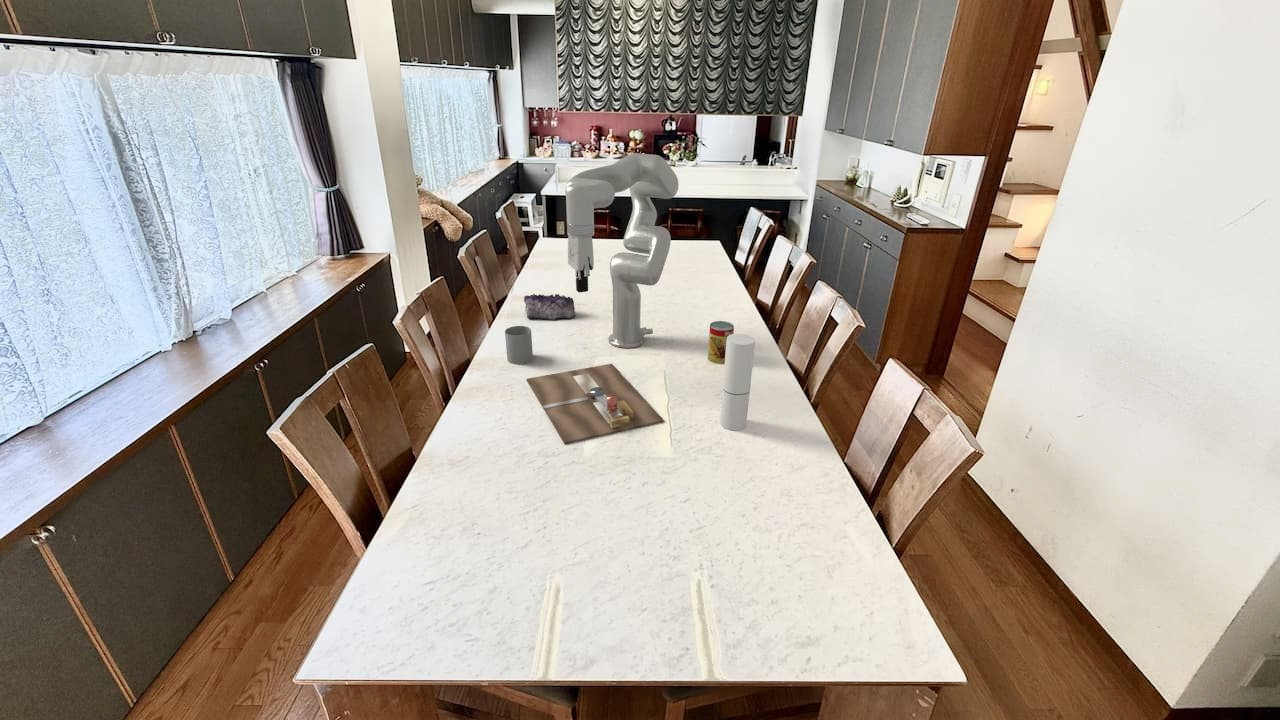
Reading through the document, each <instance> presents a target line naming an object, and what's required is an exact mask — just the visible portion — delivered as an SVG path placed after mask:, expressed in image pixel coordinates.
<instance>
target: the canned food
mask: <svg viewBox="0 0 1280 720" xmlns="http://www.w3.org/2000/svg"><path fill="white" fill-rule="evenodd" d="M708 331H709V334H708V344H707V345H708V346H707V360H708V361H709V362H710V363H713V364H717V365H718V364H719V365H722V364H723V365H725V354H726V342H727V337H728V336H729V335H731V334H735V333H734V332H735V325H734V324H733V323H732V322H728V321H724V320H716V321H713V322H711V323H710V324H709V330H708Z"/></svg>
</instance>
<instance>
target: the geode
mask: <svg viewBox="0 0 1280 720" xmlns="http://www.w3.org/2000/svg"><path fill="white" fill-rule="evenodd" d="M523 302H524V304H525V307H524V308H525V311H524V312H525V313H526V318H527V319H542V320H548V321H555V320H559V319H567V320H571V319H575V318H576V312H575V311H576V308H575V301H574V298H573V297H571V296H565V295H560V294H559V293H558V294H557V293H555V294H553V293H552V294H550V295H545V294H535V293H532V294H530V295H524V296H523Z"/></svg>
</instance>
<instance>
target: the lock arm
mask: <svg viewBox="0 0 1280 720" xmlns="http://www.w3.org/2000/svg"><path fill="white" fill-rule="evenodd" d="M590 395H591V398H593V399H595V400H596V401H597V402H598V403H599V405H600V406H601V407H602V408H603V410H604V411H605V412H606V413H607V414H608V416H609V417H610V418H611V419H615V418H619V417H623V415H622V414H621V412H620V411H619V410H618V409H617V396H616V395H614V394H610V395H608V396H606V395H605V394H604V389H603V388H600V387H595V388H592V389H591V390H590Z"/></svg>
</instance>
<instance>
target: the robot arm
mask: <svg viewBox="0 0 1280 720" xmlns="http://www.w3.org/2000/svg"><path fill="white" fill-rule="evenodd" d="M679 184H680V183H679V179H678V175H677V174H676V173H675V171H674V170H673V169H672V167H671V165H670V164H669V163H668V162H667V160H666V159H664V158H663V157H662V156H660V155H657V154H652V153H651V154H649V153H648V154H647V153H639V152H638V153H637V152H634V153H630V154H627V155H626V156H624V157H622V158H620V159H619V160H617V161H616V162H614V163H612V164H610V165H609V164H608V165H603V166H600V167H596V168H592V169H587V170H583V171H581V172H579V173H577V174H575V175H573V176H572V177H571V178H570V179H569V180H568V182H567V183H566V185H565V188H564V190H565V191H564V192H565V199H566V200H565V204H566V208H565V209H566V228H567V229H566V230H567V231H566V233H567V236H568V237H567V238H568V239H567V264H568V265H569V266H570V267H571V268H572V269H573V270H574V274H575V289H576V292H577V293H586V292H588V291H589V277H590V276H591V273H590V271H592V270H594V267H595V266H594V264H595V262H594V260H595V259H594V247H593V246H594V243H593V237H594V235H595V215H594V212H595V210H594V209H602V208H603V209H604V208H607V207H609V206H610V205H611V204H613V202H614V200H615V196H616V193H623V192H624V191H627V190H629V192H630V197H631V202H632V211H631V214H630V218H629V221H628V224H627V227H626V229H625V233H624V236H623V241H622V242H623V247H624V248H625V249H626V250H627V251H630V252H618V253H615V254H614V255H612V257H611V259H610V262H609V273H610V277H611V284H612V334H610V335H609V336H608V342H609V344H610V345H612V346H614V347H616V348H621V349H630V348H631V349H632V348H637V347H639V346H642V345H643V344H644V342H645V336H646V335H652V334H653V333H654V329H653V328H647V327H646V326H645V327H641V306H642V305H641V302H642V301H641V299H642V297H641V296H642V294H641V290H640V287H639V286H638V285H641V286H642V285H644V286H655V285H657V283H659V281H660V279H661V277H662V274H663V270H664V267H665V264H666V262H667V258H668V255H669V251H670V248H671V242H672V240H671V239H672V238H671V234H670V232H669V230H668V229H667V228H666V227H663V226H657V225H656V222H657V217H658V213H657V208H656V207H655V205H654V203H653V202H652V200H651V198H655V199H662V200H669V199H672V198H674V197H675V196H676V195H677V193H678V191H679ZM592 236H593V237H592ZM631 252H632V253H631ZM637 253H638V254H637Z"/></svg>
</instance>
